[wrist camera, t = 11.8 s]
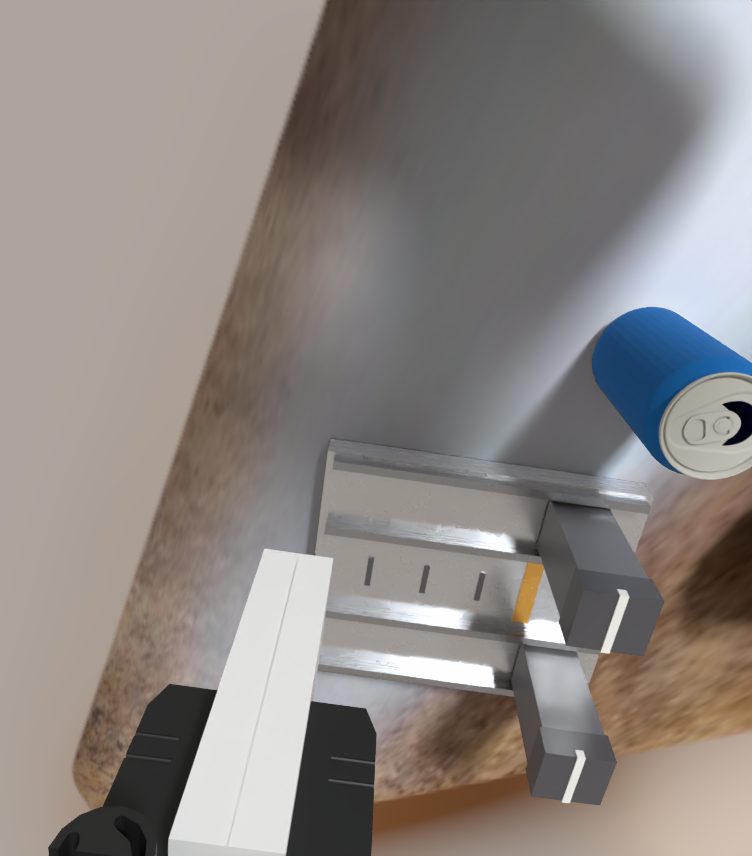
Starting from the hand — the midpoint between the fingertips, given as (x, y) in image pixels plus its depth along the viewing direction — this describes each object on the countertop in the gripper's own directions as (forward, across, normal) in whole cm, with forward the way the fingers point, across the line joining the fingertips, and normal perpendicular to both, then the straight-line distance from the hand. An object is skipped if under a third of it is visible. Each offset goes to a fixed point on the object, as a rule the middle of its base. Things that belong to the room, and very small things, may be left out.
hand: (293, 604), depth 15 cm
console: (+30, +10, -19) cm, 37 cm away
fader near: (+28, +16, -13) cm, 35 cm away
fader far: (+28, +17, -25) cm, 41 cm away
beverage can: (+31, +18, -1) cm, 36 cm away
